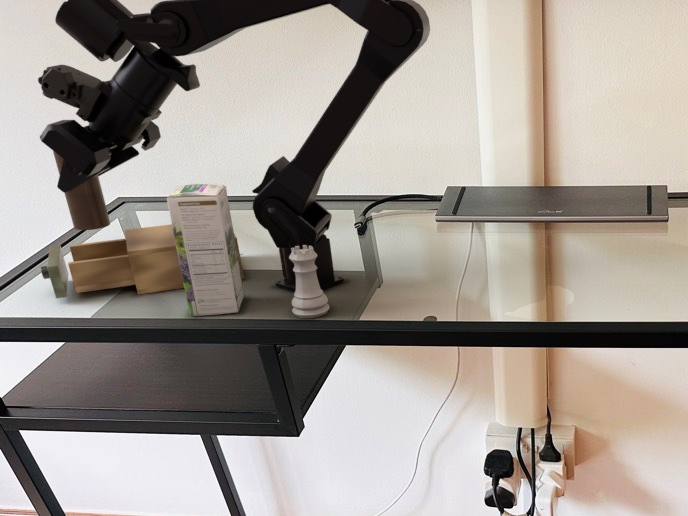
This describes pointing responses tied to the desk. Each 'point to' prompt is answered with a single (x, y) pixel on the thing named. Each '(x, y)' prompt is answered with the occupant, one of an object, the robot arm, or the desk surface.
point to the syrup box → (206, 248)
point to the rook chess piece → (307, 285)
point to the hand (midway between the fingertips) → (70, 185)
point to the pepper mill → (86, 203)
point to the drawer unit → (157, 259)
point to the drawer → (90, 267)
